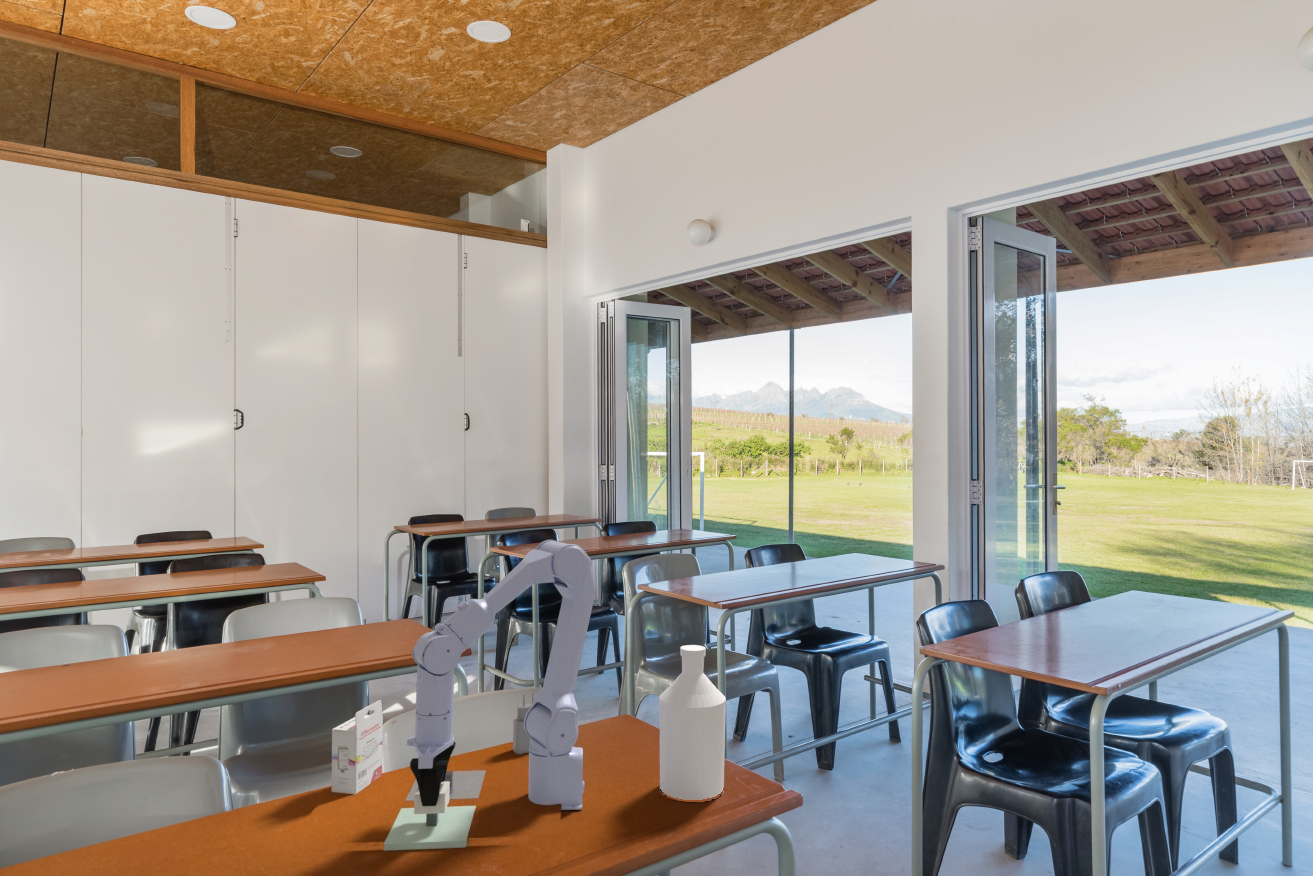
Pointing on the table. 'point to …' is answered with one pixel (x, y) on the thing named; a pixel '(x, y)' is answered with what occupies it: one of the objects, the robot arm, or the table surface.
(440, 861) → the table surface
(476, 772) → the grey stand plate
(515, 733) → the power adapter
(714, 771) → the bottle
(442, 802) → the cream ring
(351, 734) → the ink cartridge box
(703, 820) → the table surface
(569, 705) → the robot arm
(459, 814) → the sage hub plate
